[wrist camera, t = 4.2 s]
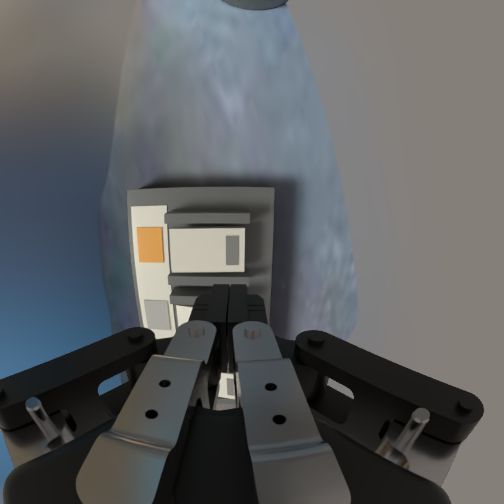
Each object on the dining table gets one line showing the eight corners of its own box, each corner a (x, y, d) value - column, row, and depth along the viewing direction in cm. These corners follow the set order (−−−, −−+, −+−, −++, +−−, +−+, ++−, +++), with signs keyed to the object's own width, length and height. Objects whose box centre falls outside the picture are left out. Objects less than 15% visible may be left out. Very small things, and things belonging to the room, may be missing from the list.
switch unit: (138, 188, 25) (117, 191, 20) (270, 186, 25) (277, 188, 21) (162, 382, 31) (153, 408, 26) (262, 386, 32) (265, 414, 27)
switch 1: (171, 226, 22) (168, 229, 21) (243, 226, 22) (244, 228, 21) (173, 268, 23) (171, 272, 22) (243, 267, 23) (244, 271, 22)
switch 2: (187, 360, 26) (183, 366, 25) (243, 369, 25) (241, 376, 24) (190, 385, 27) (187, 390, 26) (243, 394, 26) (241, 400, 25)
